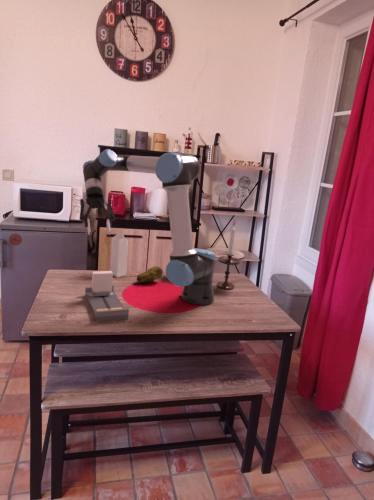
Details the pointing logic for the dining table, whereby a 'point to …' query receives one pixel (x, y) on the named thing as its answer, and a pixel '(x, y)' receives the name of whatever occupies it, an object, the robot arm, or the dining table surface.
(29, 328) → the dining table surface
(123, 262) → the milk
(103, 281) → the fader knob
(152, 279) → the potato
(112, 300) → the fader deck
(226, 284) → the candlestick
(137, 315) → the dining table surface
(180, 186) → the robot arm
